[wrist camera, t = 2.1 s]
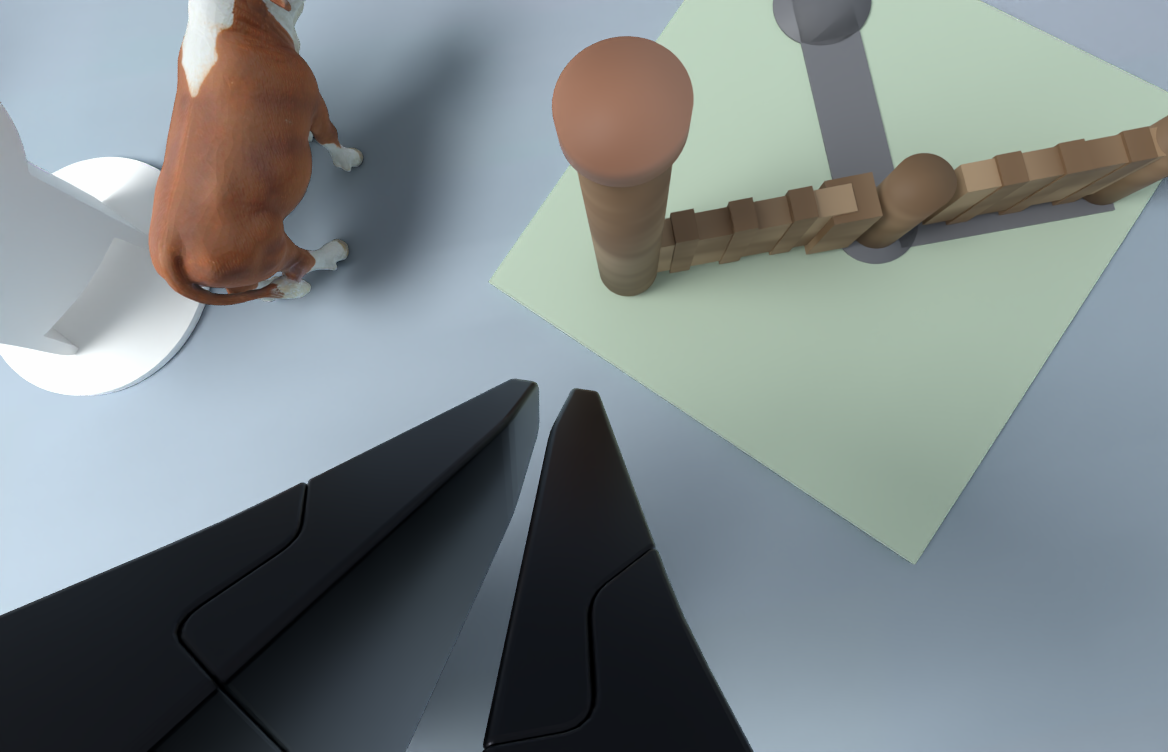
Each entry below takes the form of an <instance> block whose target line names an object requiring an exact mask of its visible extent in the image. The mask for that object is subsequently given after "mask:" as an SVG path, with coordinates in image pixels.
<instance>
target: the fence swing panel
mask: <svg viewBox="0 0 1168 752" xmlns="http://www.w3.org/2000/svg"><path fill="white" fill-rule="evenodd" d="M693 104H694V94H693V87H692V83H691V79H690V77H689V75H688V72H687V70H686V69H685V67H684V65H683V64H682V62H681V61H680V60H679V59H678V58H677V57H676V56H675V55H674V54H673V53H672V52H671V51H670V50H668V49H667V48H665V47H664V46H662V45H660V44H658V43H656V42H654V41H651V40H648V39H644V38H640V37H631V36H624V37H614V38H609V39H605V40H602V41H599V42H597V43H595V44H592V45H591V46H589V47H587V48H585V49H584V50H582V51H581V52H580V53H578V54H577V55H576V56H575V57H574V58H573V59H572V60H571V61H570V62H569V63H568V64H567V66H566V67H565V68H564V70H563V71H562V73H561V74H560V76H559V79H558V81H557V83H556V86H555V89H554V93H553V99H552V113H553V119H554V123H555V127H556V131H557V135H558V139H559V143H560V146H561V149H562V151H563V154H564V155H565V157H566V159H567V161H568V162H569V163H570V164H571V166H572V167H573V168H574V169H575V170H576V171H577V173H578V177H579V182H580V187H581V191H582V196H583V200H584V205H585V209H586V214H587V219H588V223H589V228H590V232H591V237H592V242H593V246H594V251H595V255H596V260H597V264H598V269H599V274H600V277H601V280H602V282H603V284H604V285H605V286H606V287H607V288H608V289H609V290H610V291H611V292H613V293H615V294H617V295H620V296H635V295H638V294H641V293H643V292H644V291H646V290H647V289H648V288H649V287H650V286H651V285H652V284H653V282H654V281H655V278H656V276H657V272H662V271H667V270H669V273H675V272H681V271H686V270H689V269H690V266H695V265H700V264H706V263H711V262H716V261H718V262H719V264H724V263H730V262H735V261H739V260H740V258H741V257H744V256H749V255H755V254H760V253H766V252H769V255H774V254H779V253H785V252H790V250H791V249H792V248H793V247H798V246H804V248H805V252H806V255H808V254H813V253H819V252H824V251H830V250H835V249H841V248H846V247H848V246H849V245H850V244H852V243H853V242H854V241H855V240H856V239H857V238H858V237H860V236H861V235H862V234H863V233H864V232H865V231H866V230H867V229H869V228H870V227H871V226H872V225H873V224H874V223H875V222H877V221H878V220H879V219H880V218H881V217H882V216H883V214H882V210H881V206H880V202H879V198H878V194H877V189H876V185H875V181H874V177H873V173H872V172H869V173H863V174H858V175H853V176H848V177H842V178H837V179H832V180H827V181H824V182H823V184H822V185H821V186H820V188H819V189H818V190H813V187H812V186H808V187H803V188H797V189H792V190H788V191H787V193H786V195H785V196H782V197H776V198H771V199H766V200H761V201H755V202H753V197H750V198H745V199H740V200H735V201H730V202H728V205H727V207H724V208H719V209H713V210H708V211H703V212H698V213H694V208H693V209H688V210H683V211H677V212H672V213H670V218H666V219H665V215H666V207H667V200H668V193H669V186H670V179H671V172H672V165H673V163H674V162H675V161H676V160H677V158H678V157H679V155H680V154H681V152H682V150H683V148H684V146H685V144H686V141H687V137H688V133H689V128H690V122H691V116H692V110H693Z"/></svg>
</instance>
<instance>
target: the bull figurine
mask: <svg viewBox="0 0 1168 752" xmlns="http://www.w3.org/2000/svg"><path fill="white" fill-rule="evenodd" d="M304 1H305V0H189V3H188V13H189V18H188V24H187V29H186V33H185V36H184V39H183V42H182V45H181V48H180V52H179V57H178V84H177V93H176V98H175V102H174V107H173V113H172V118H171V123H170V128H169V133H168V138H167V145H166V152H165V158H164V163H163V166H162V169H161V172H160V175H159V177H158V180H157V184H156V188H155V193H154V202H153V210H152V217H151V223H150V229H149V241H148V244H149V252H150V257H151V260H152V264H153V266H154V268H155V269H156V271H157V273H158V274H159V275H160V276H161V277H162V278H164V279H165V280H166V281H167V283H168V284H169V286H170V287H171V288H172V289H173V290H174V291H175V292H177V293H179V294H180V295H182V296H184V297H186V298H188V299H191V300H193V301H196V302H199V303H202V304H208V305H233V304H238V303H243V302H246V301H250V300H254V299H260V300H263V301H265V302H272V301H274V300H275V298H280V299H294V298H302V297H304V296H305V295H306V294H307V293H309V292H310V289H311V286H310V284H309V283H308V282H306V281H305V280H303V279H302V277H303V276H304V275H305V274H307V273H309V272H311V271H314V270H337V265H336V262H338V261H341V260H345V259H346V258H347V256H348V253H349V249H348V245H347V244H346V243H345V242H344V241H342V240H339V239H334V240H333V241H331V242H329V243H327V244H325V245H324V246H323V247H322V248H320V249H318V250H315V251H311V250H304V249H302V248H299V247H298V246H296V245H295V244H294V243H293V242H292V241H291V240H290V238H289V237H288V236H287V234H286V233H285V231H284V225H283V220H284V218H285V217H286V216H287V215H288V214H289V213H290V212H291V211H292V210H294V209H295V207H296V206H297V205H298V204H299V202H300V201H301V200H302V198H303V196H304V194H305V192H306V189H307V187H308V184H309V181H310V178H311V173H312V155H311V150H310V146H309V142H311V141H312V137H313V136H314V138H315V139H316V141H317V142H318V143H319V144H320V145H322V146H324V147H325V148H326V149H327V150H328V151H329V153H330V154H331V157H332V160H333V163H334V165H335V166H336V167H339V168H342V169H343V170H345V171H347V172H350V171H351V167H358V166H359V165H360V164H361V163H362V161H363V155H362V153H361V151H359V150H358V149H356V148H345V147H344V146H342V145H341V144H340V143H339V141H338V134H337V130H336V128H335V126H334V125H333V124H332V123H331V121H330V120H329V114H328V110H327V107H326V104H325V102H324V100H323V98H322V96H321V94H320V92H319V89H318V85H317V81H316V79H315V76H314V74H313V72H312V70H311V69H310V67H309V66H308V64H307V63H306V62H305V61H304V59H303V58H302V57H301V56H300V55H299V50H300V41H299V39H298V37H297V34H296V31H295V28H294V26H295V23H296V21H297V19H298V18H299V16H300V15H301V13H302V11H303V7H304ZM279 271H281V272H282V275H283V276H281V277H273V278H271V279H269V280H266V279H268V278H270V277H271V276H273V275H274V274H275V273H276V272H279ZM202 287H213V288H225V289H226V290H227V292H228V294H216V293H211V292H210V291H208V290H206V289H203V288H202Z"/></svg>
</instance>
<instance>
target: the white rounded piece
mask: <svg viewBox="0 0 1168 752" xmlns="http://www.w3.org/2000/svg"><path fill="white" fill-rule="evenodd" d="M160 172H161V171H160V170H158V169H157V168H155V167H153V166H150V165H148V164H146V163H143V162H140V161H137V160H132V159H128V158H120V157H102V158H94V159H89V160H84V161H81V162H77V163H74V164H72V165H69V166H67V167H64V168H62V169H60V170H58V171H56V172H54V173H53V174H51V173H49V172H47V171H45V170H44V169H42V168H40V167H38V166H36V165H34V164H33V163H31V162H29V161H27V159H26V155H25V151H24V147H23V144H22V141H21V139H20V136H19V134H18V131H17V129H16V127H15V125H14V123H13V121H12V119H11V118H10V116H9V114H8V113H7V111H6V109H5V108H4V107H3V105H2V104H1V102H0V354H1V355H2V357H3V358H4V360H5V361H6V362H7V363H8V364H9V365H10V367H11V368H12V369H13V370H14V371H16V372H17V373H18V374H19V375H20V376H21V377H23V378H24V379H26V380H27V381H29V382H30V383H32V384H34V385H36V386H38V387H40V388H43V389H45V390H48V391H51V392H55V393H60V394H65V395H78V396H96V395H103V394H109V393H113V392H117V391H120V390H123V389H125V388H128V387H131V386H133V385H135V384H137V383H139V382H141V381H143V380H144V379H146V378H148V377H149V376H151V375H152V374H154V373H155V372H156V371H158V370H159V369H160V368H162V367H163V366H164V365H165V364H166V363H167V362H168V361H169V360H170V359H171V358H173V356H174V355H175V354H176V353H177V352H178V351H179V350H180V349H181V347H182V346H183V345H184V343H185V342H186V341H187V339H188V338H189V336H190V335H191V333H192V332H193V330H194V328H195V326H196V324H197V323H198V321H199V319H200V316H201V314H202V312H203V309H204V307H205V304H202V303H199V302H196V301H193V300H191V299H188V298H186V297H184V296H182V295H180V294H179V293H177V292H175V291H174V290H173V289H172V288H171V287H170V286H169V284H168V283H167V281H166V280H165V279H164V278H162V277H161V276H160V275H159V274H158V273H157V271H156V269H155V268H154V266H153V264H152V260H151V257H150V252H149V244H148V241H149V229H150V223H151V217H152V210H153V202H154V193H155V188H156V184H157V180H158V177H159V175H160ZM202 288H203V289H206V290H208V291H209V289H210V287H202Z"/></svg>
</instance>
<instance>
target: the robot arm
mask: <svg viewBox="0 0 1168 752" xmlns="http://www.w3.org/2000/svg"><path fill="white" fill-rule="evenodd" d="M538 429H539V387H538V385H537V383H536V382H533V381H527V380H521V379H511V380H508V381H506V382H504V383H502V384H500V385H498V386H496V387H494V388H492V389H490V390H488V391H486V392H484V393H482V394H480V395H478V396H476V397H474V398H472V399H470V400H468V401H466V402H464V403H462V404H460V405H458V406H456V407H454V408H452V409H450V410H448V411H446V412H444V413H442V414H440V415H438V416H436V417H434V418H432V419H430V420H428V421H426V422H424V423H422V424H420V425H418V426H416V427H414V428H412V429H410V430H408V431H406V432H404V433H402V434H400V435H398V436H396V437H394V438H392V439H390V440H388V441H386V442H384V443H382V444H380V445H378V446H376V447H374V448H372V449H370V450H368V451H366V452H364V453H362V454H360V455H358V456H356V457H354V458H352V459H350V460H348V461H346V462H344V463H342V464H340V465H338V466H336V467H334V468H332V469H330V470H328V471H326V472H324V473H322V474H320V475H318V476H316V477H314V478H312V479H310V480H309V481H308V484H306V483H300V484H298V485H296V486H294V487H292V488H290V489H288V490H285V491H283V492H281V493H279V494H277V495H275V496H273V497H271V498H269V499H267V500H265V501H263V502H261V503H259V504H257V505H255V506H252V507H250V508H248V509H246V510H244V511H242V512H240V513H238V514H236V515H234V516H231V517H229V518H227V519H225V520H223V521H221V522H219V523H216V524H214V525H212V526H210V527H207V528H205V529H203V530H200V531H198V532H196V533H194V534H191V535H189V536H187V537H184V538H182V539H180V540H178V541H175V542H173V543H171V544H168V545H166V546H164V547H162V548H159V549H157V550H155V551H152V552H150V553H148V554H145V555H143V556H140V557H138V558H136V559H133V560H131V561H129V562H126V563H124V564H122V565H119V566H117V567H114V568H112V569H110V570H107V571H105V572H103V573H100V574H98V575H95V576H93V577H91V578H88V579H86V580H84V581H81V582H79V583H77V584H74V585H72V586H69V587H67V588H65V589H62V590H60V591H58V592H55V593H53V594H50V595H48V596H46V597H43V598H41V599H39V600H36V601H34V602H31V603H29V604H27V605H24V606H22V607H20V608H17V609H15V610H13V611H10V612H8V613H5V614H3V615H1V616H0V752H406V750H407V748H408V745H409V743H410V741H411V739H412V737H413V734H414V732H415V730H416V728H417V726H418V723H419V721H420V719H421V717H422V715H423V712H424V710H425V708H426V706H427V704H428V701H429V699H430V697H431V695H432V693H433V690H434V688H435V686H436V684H437V682H438V679H439V677H440V675H441V673H442V671H443V668H444V666H445V664H446V662H447V660H448V657H449V655H450V653H451V651H452V649H453V646H454V644H455V642H456V640H457V638H458V635H459V633H460V631H461V629H462V627H463V624H464V622H465V620H466V618H467V616H468V613H469V611H470V609H471V607H472V605H473V602H474V600H475V598H476V596H477V594H478V591H479V589H480V587H481V585H482V583H483V580H484V578H485V576H486V574H487V572H488V569H489V567H490V565H491V563H492V561H493V558H494V556H495V554H496V552H497V550H498V547H499V545H500V543H501V541H502V539H503V537H504V534H505V532H506V530H507V528H508V525H509V523H510V521H511V518H512V516H513V513H514V510H515V507H516V504H517V501H518V498H519V495H520V492H521V488H522V485H523V482H524V478H525V475H526V472H527V469H528V465H529V462H530V459H531V455H532V452H533V449H534V445H535V442H536V439H537V434H538ZM483 748H484V750H483V752H754V751H753V750H752V748H751V746H750V744H749V742H748V740H747V738H746V736H745V734H744V733H743V731H742V729H741V727H740V725H739V723H738V721H737V719H736V717H735V715H734V714H733V712H732V710H731V708H730V706H729V704H728V702H727V700H726V698H725V697H724V695H723V693H722V691H721V689H720V687H719V685H718V683H717V681H716V680H715V678H714V676H713V674H712V672H711V670H710V668H709V666H708V664H707V662H706V660H705V658H704V656H703V654H702V652H701V650H700V648H699V646H698V644H697V642H696V640H695V638H694V636H693V634H692V632H691V630H690V628H689V626H688V624H687V622H686V619H685V617H684V615H683V613H682V610H681V608H680V605H679V603H678V600H677V598H676V596H675V593H674V591H673V588H672V586H671V584H670V581H669V579H668V576H667V574H666V571H665V568H664V566H663V563H662V560H661V558H660V555H659V552H658V551H657V550H656V549H655V544H654V541H653V538H652V536H651V533H650V530H649V527H648V525H647V522H646V519H645V517H644V514H643V511H642V509H641V506H640V503H639V500H638V498H637V495H636V492H635V490H634V487H633V484H632V482H631V479H630V476H629V473H628V471H627V468H626V465H625V463H624V460H623V457H622V455H621V452H620V449H619V447H618V444H617V441H616V438H615V436H614V433H613V430H612V428H611V425H610V422H609V420H608V417H607V414H606V411H605V409H604V406H603V403H602V401H601V398H600V395H599V394H598V392H596V391H591V390H584V389H578V388H575V389H572V391H571V392H570V394H569V396H568V398H567V400H566V401H565V403H564V405H563V407H562V409H561V411H560V413H559V415H558V417H557V419H556V421H555V422H554V425H553V427H552V429H551V431H550V435H549V438H548V442H547V447H546V451H545V456H544V461H543V465H542V470H541V475H540V479H539V484H538V489H537V493H536V498H535V503H534V507H533V512H532V517H531V522H530V526H529V531H528V536H527V540H526V545H525V550H524V554H523V559H522V564H521V568H520V573H519V578H518V582H517V587H516V592H515V596H514V601H513V606H512V611H511V615H510V620H509V625H508V629H507V634H506V639H505V643H504V648H503V653H502V657H501V662H500V667H499V671H498V676H497V681H496V685H495V690H494V695H493V699H492V704H491V709H490V714H489V718H488V723H487V728H486V732H485V737H484V742H483Z"/></svg>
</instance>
